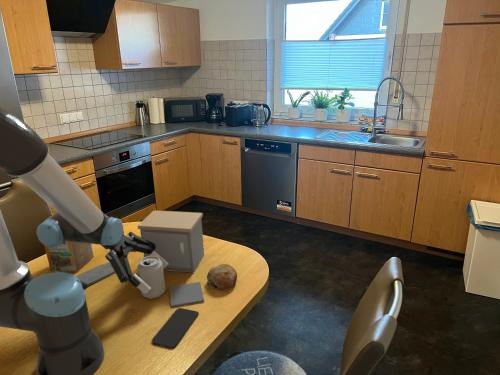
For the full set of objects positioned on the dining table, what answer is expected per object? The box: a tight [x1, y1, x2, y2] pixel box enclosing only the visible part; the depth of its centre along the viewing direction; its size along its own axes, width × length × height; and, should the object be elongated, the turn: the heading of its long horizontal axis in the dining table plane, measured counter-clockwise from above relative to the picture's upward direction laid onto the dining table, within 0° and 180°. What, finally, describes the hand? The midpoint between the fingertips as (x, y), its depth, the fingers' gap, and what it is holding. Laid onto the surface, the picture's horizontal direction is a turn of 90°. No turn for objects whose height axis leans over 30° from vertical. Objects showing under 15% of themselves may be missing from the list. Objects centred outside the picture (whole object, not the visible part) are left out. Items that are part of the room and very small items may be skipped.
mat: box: [169, 281, 205, 308], centre depth 118 cm, size 10×10×1 cm
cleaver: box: [75, 261, 116, 290], centre depth 126 cm, size 29×10×2 cm, turn 143°
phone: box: [151, 307, 200, 349], centre depth 104 cm, size 7×1×15 cm
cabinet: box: [137, 210, 205, 274], centre depth 133 cm, size 14×19×17 cm
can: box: [137, 256, 166, 300], centre depth 117 cm, size 8×8×12 cm
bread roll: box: [206, 263, 238, 291], centre depth 123 cm, size 10×10×8 cm
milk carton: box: [43, 215, 95, 274], centre depth 135 cm, size 11×11×19 cm
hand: (157, 278), depth 118 cm, fingers open, 13 cm apart
